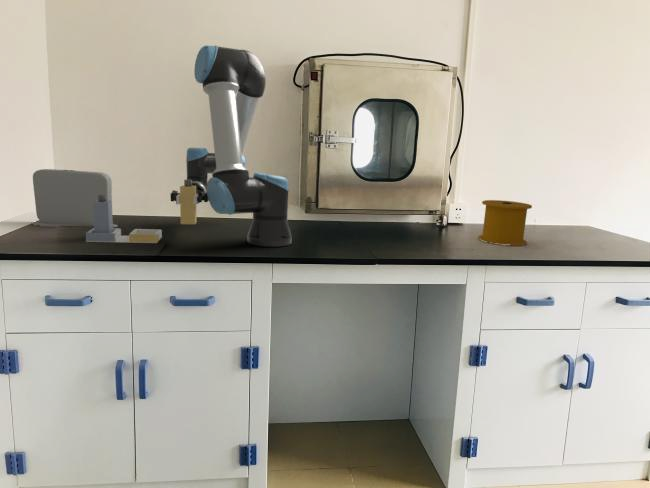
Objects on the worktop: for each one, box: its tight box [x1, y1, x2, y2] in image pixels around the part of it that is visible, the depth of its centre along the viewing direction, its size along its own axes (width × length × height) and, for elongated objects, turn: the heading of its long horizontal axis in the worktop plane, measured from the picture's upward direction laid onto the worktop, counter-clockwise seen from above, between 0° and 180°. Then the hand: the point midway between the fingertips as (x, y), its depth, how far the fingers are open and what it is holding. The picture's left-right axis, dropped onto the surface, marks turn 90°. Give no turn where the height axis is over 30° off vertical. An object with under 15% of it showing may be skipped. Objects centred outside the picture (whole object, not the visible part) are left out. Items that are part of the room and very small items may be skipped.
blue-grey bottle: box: [93, 195, 114, 233], centre depth 167 cm, size 4×4×14 cm
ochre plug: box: [179, 179, 197, 225], centre depth 169 cm, size 4×4×14 cm
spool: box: [477, 199, 533, 245], centre depth 201 cm, size 18×18×15 cm
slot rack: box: [85, 227, 163, 244], centre depth 169 cm, size 22×10×4 cm, turn 98°
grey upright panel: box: [31, 168, 119, 228], centre depth 189 cm, size 31×10×20 cm, turn 84°
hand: (186, 200), depth 164 cm, fingers closed on ochre plug, 4 cm apart
